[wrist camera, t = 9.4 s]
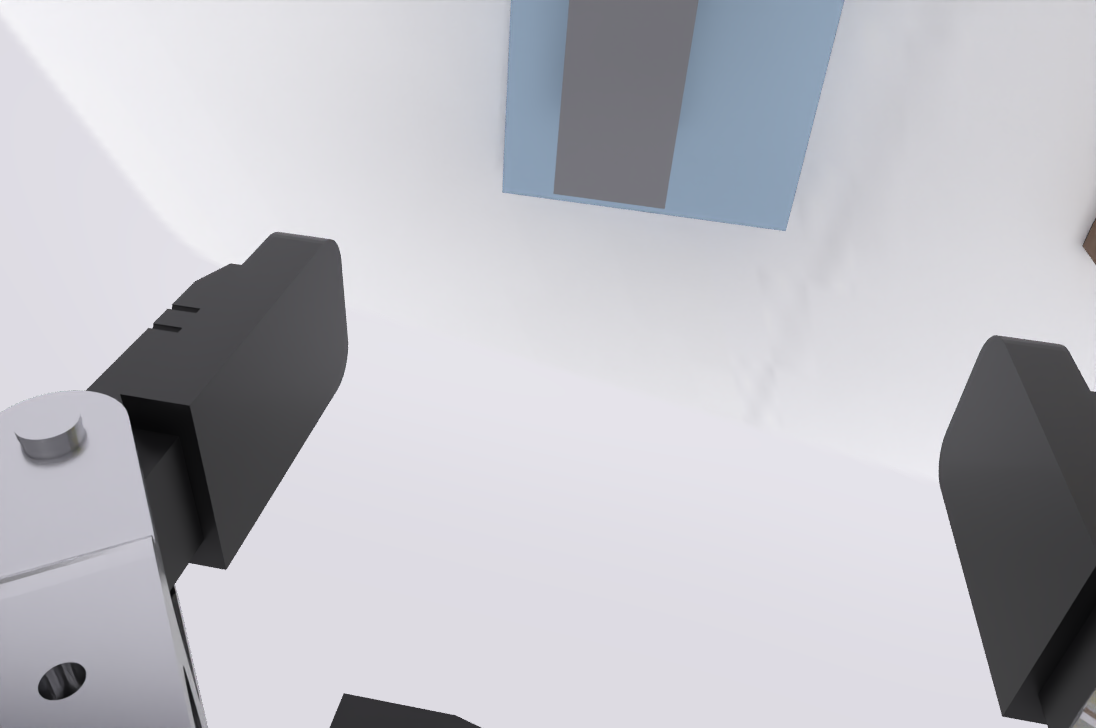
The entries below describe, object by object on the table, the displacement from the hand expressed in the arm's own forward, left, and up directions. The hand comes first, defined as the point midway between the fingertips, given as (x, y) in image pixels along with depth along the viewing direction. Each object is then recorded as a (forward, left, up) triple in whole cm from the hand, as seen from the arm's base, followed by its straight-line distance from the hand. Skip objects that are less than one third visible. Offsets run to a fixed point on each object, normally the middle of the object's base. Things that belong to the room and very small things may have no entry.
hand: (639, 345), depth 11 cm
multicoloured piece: (0, +1, -21) cm, 21 cm away
